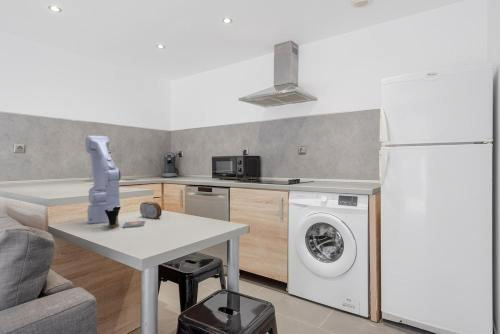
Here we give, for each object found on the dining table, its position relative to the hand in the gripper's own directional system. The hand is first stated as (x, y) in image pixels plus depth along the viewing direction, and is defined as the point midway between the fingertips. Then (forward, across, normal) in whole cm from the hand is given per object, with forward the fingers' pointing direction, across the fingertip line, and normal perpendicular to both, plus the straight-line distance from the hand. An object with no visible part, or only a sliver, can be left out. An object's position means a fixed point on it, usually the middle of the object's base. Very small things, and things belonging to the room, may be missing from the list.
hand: (113, 223), depth 132 cm
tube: (+1, 0, 0) cm, 1 cm away
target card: (+1, 0, +9) cm, 9 cm away
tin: (+2, -15, +16) cm, 22 cm away
